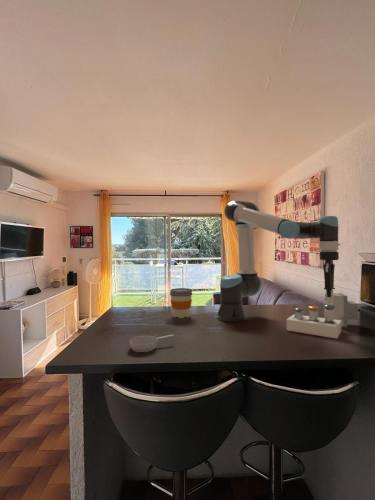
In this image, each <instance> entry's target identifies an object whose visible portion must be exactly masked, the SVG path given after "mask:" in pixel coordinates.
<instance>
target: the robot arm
mask: <svg viewBox="0 0 375 500" xmlns="http://www.w3.org/2000/svg"><path fill="white" fill-rule="evenodd" d="M223 211H224V212H223V213H224V216H225V218H226V219H227V220H229V222H230V221H231V222H235V227H236V228H237V230H238V231H237V235H238V236H237V237H238V262H239V263H238V268H239V269H238V270H237V272H236V274H235V273H233V274H232V273H231V274H226V275H223V276H222V277H221V278H220V283H219V289H220V291H219V292H220V293H219V294H220V305H219V309H218V310H217V311H218V312H217V320H219V321H223V322H231V323H234V322H235V323H236V322H237V323H238V322H243V321H245V320H246V318H247V317H246V312H245V309H244V306H243V298H245V297H252V296H255V295H257V294H259V292H261V290H262V285H263V284H262V279H261V278H260V276H258V272H257V270H256V268H255V243H254V242H255V240H254V239H255V238H254V237H255V235H254V234H255V233H254V228H255V227H257V228H259V229H263V230H265V231H269V232H272V233H275V234H276V235H277V234H278V235H280V236H281V237H282V238H284V239H289V240H292V239H298V240H305V239H318V240H319V242H318V243H319V244H318V245H319V251H320V252H319V260H320V261H324V263H323V268H322V269H323V277H324V278H323V279H324V287H323V289H324V290H325V293H326V302H325V305H327V304H331V305H333V293H334V290H335V289H336V287H335V286H334V285H335V267H336V266H335V263H334V261H338V260H339V259H340V257H339V246H340V245H341V244H340V243H339V218H338V217H337V216H335V215H325V216H320V217H319V219H318V221H314V222H313V221H312V222H303V221H294V220H290V219H287V218H284V217H280V216H277V215H274V214H273V215H272V214H270V213H266V212H262V211H260V209H259V207H258V205H257V204H256V203H253V202H251V201H241V200H236V199H235V200H231V201H229V202H228V203H227V204H226V205H225V207H224V210H223Z"/></svg>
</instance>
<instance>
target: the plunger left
mask: <svg viewBox="0 0 375 500" xmlns="http://www.w3.org/2000/svg"><path fill="white" fill-rule="evenodd" d="M293 311H294V314H295V319H301V320H303V316H304V312H305V309H304V308H303V307H294V308H293Z"/></svg>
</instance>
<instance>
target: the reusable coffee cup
mask: <svg viewBox="0 0 375 500" xmlns="http://www.w3.org/2000/svg"><path fill="white" fill-rule="evenodd" d="M192 295H193V290H192V288H188V287H187V288H186V287H179V288H178V287H177V288H172V289H170V291H169V296H170V306H171V309H172V316H173V318H175V317H178V318H177V319H185V318H184V317H187V318H189V317H190V312H191V308H192V300H193V299H192ZM188 316H189V317H188Z"/></svg>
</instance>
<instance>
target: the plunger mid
mask: <svg viewBox="0 0 375 500" xmlns="http://www.w3.org/2000/svg"><path fill="white" fill-rule="evenodd" d="M319 309H320V307H319V306H318V305H317V306H316V305H308V316H309V321H315V322H318V317H319Z"/></svg>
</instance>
